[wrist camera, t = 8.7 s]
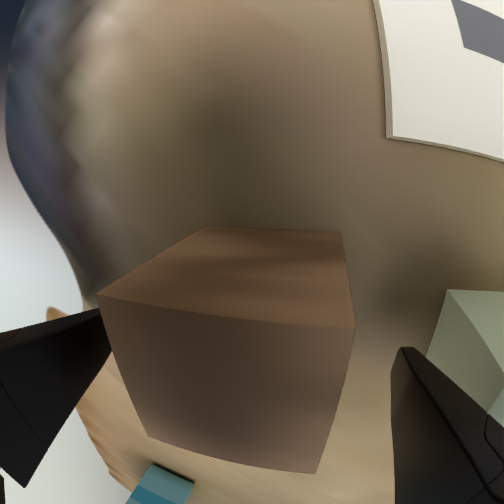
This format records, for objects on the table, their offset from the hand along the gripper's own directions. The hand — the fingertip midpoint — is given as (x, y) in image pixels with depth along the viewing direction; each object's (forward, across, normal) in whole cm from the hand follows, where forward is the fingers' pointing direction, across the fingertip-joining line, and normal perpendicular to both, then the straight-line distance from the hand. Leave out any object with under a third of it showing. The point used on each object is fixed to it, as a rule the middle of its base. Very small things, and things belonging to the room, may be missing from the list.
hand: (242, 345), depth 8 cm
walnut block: (+3, 0, 0) cm, 3 cm away
